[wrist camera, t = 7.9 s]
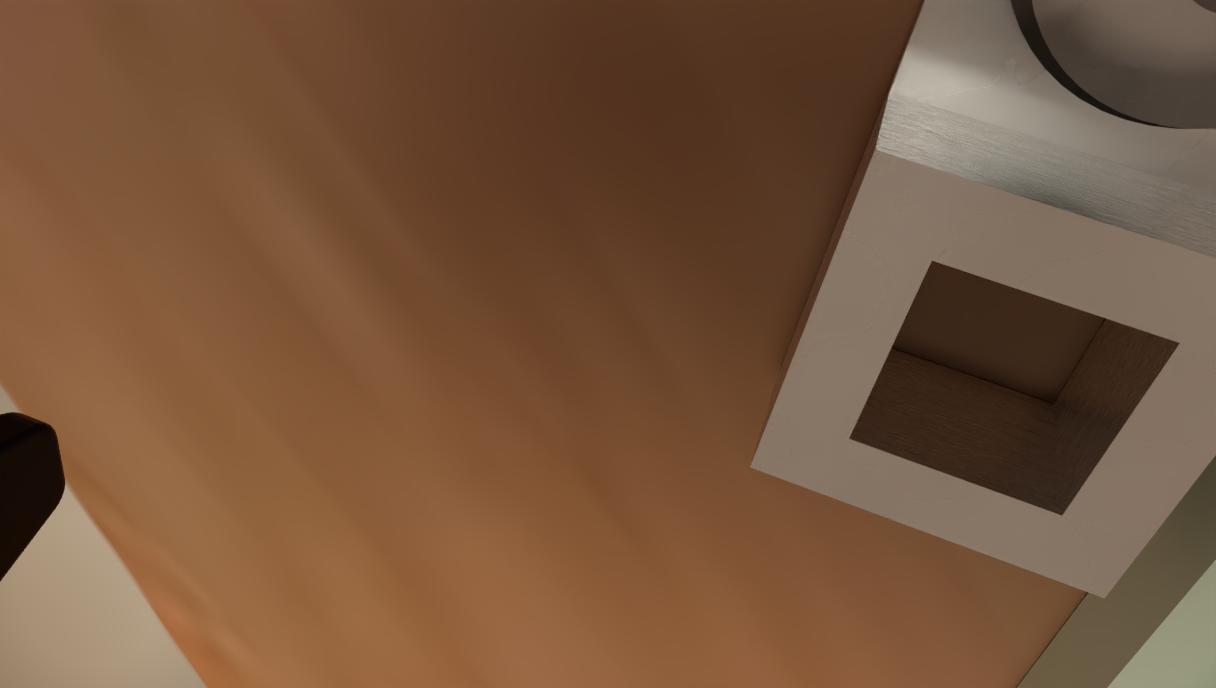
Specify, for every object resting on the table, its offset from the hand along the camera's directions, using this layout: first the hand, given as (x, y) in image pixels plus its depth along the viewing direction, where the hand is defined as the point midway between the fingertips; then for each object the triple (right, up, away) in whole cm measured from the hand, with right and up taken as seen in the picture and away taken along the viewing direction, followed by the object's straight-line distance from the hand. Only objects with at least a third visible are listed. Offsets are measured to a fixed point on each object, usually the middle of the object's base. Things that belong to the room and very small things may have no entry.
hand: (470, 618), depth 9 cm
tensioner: (+10, +7, +8) cm, 15 cm away
